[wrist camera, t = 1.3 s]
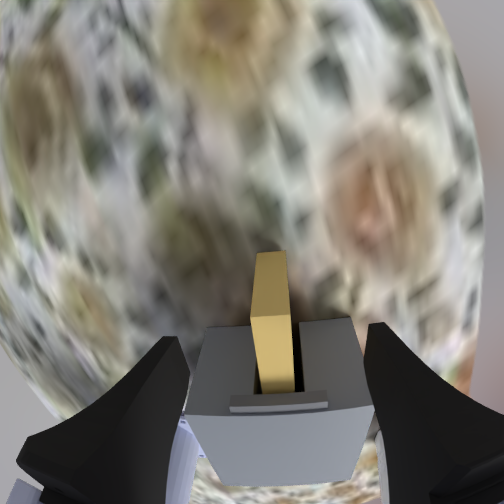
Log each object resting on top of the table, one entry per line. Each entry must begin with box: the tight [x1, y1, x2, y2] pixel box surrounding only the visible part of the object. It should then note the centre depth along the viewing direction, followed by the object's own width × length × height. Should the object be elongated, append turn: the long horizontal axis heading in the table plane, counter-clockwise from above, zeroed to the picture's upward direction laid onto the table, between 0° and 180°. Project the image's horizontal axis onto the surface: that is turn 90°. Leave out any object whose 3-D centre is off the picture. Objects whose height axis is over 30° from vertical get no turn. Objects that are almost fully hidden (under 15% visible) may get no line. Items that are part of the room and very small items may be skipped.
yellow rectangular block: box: [250, 251, 295, 394], centre depth 16 cm, size 2×10×6 cm, turn 7°
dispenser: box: [184, 317, 375, 486], centre depth 17 cm, size 9×11×7 cm
